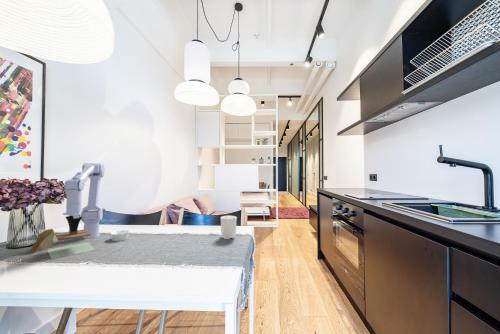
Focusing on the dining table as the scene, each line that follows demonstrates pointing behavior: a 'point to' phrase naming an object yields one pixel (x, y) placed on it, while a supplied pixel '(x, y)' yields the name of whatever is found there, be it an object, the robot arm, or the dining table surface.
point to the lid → (72, 234)
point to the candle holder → (228, 226)
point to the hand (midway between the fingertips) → (73, 230)
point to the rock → (43, 241)
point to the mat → (70, 250)
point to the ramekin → (120, 235)
